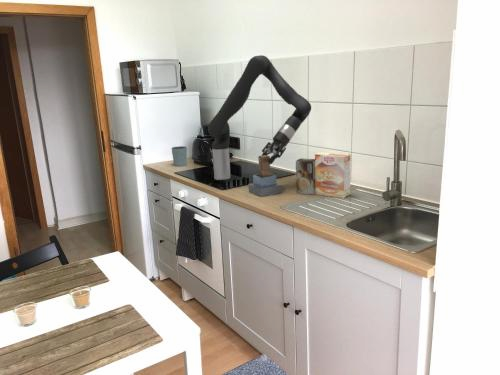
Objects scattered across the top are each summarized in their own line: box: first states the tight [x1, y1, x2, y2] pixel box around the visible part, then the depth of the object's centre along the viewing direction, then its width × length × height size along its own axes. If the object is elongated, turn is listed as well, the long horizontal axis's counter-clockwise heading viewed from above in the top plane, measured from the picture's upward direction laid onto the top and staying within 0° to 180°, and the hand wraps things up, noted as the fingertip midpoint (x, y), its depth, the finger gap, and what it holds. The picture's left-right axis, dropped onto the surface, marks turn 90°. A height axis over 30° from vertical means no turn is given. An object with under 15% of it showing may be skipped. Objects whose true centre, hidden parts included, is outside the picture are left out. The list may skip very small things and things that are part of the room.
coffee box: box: [295, 158, 316, 196], centre depth 204 cm, size 9×6×16 cm
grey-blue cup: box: [171, 145, 188, 167], centre depth 284 cm, size 10×10×12 cm
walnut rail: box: [258, 155, 271, 178], centre depth 207 cm, size 4×4×14 cm
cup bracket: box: [247, 173, 283, 198], centre depth 209 cm, size 12×12×8 cm
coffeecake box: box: [314, 151, 352, 199], centre depth 198 cm, size 15×7×20 cm, turn 53°
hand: (264, 161), depth 206 cm, fingers open, 8 cm apart
